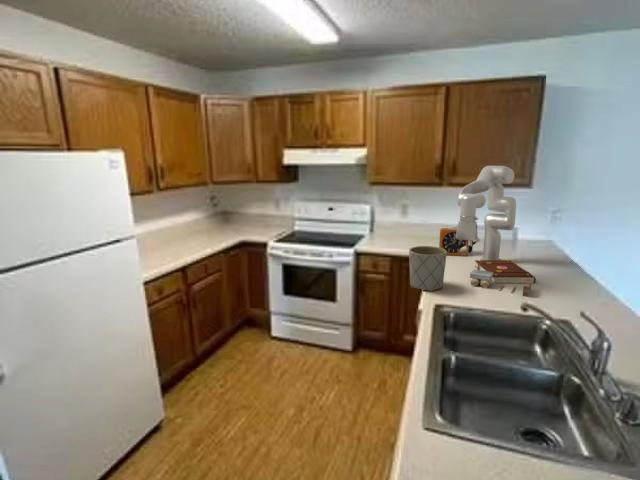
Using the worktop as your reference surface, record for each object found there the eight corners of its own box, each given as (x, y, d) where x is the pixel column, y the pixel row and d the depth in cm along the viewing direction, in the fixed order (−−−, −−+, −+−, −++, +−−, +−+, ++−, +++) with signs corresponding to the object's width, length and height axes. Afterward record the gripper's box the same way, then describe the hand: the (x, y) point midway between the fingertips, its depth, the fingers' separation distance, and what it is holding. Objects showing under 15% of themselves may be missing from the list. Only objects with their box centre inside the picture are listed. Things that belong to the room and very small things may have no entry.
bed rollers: (474, 281, 210) (474, 274, 209) (515, 287, 198) (516, 280, 198) (470, 285, 203) (470, 278, 202) (512, 293, 191) (513, 285, 190)
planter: (417, 278, 217) (418, 244, 213) (450, 284, 206) (452, 249, 201) (401, 287, 203) (402, 251, 199) (436, 295, 191) (438, 257, 187)
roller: (463, 251, 210) (464, 244, 209) (471, 252, 208) (471, 245, 207) (459, 254, 204) (459, 247, 203) (466, 255, 201) (467, 248, 200)
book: (492, 283, 206) (493, 275, 205) (473, 266, 237) (474, 259, 236) (535, 284, 205) (536, 275, 204) (511, 266, 235) (512, 259, 234)
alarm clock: (439, 255, 262) (440, 226, 258) (438, 252, 271) (440, 224, 266) (467, 256, 258) (469, 227, 253) (466, 253, 266) (468, 224, 262)
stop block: (526, 288, 197) (526, 279, 196) (531, 289, 196) (532, 280, 195) (522, 295, 188) (523, 286, 186) (527, 296, 186) (528, 287, 185)
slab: (473, 273, 209) (474, 269, 209) (493, 276, 203) (493, 272, 203) (469, 277, 203) (470, 273, 202) (489, 281, 197) (490, 276, 197)
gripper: (486, 219, 199) (483, 252, 203) (454, 216, 209) (452, 248, 213) (482, 221, 194) (479, 256, 198) (449, 218, 203) (447, 251, 208)
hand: (465, 251), depth 205 cm, fingers closed on roller, 4 cm apart
